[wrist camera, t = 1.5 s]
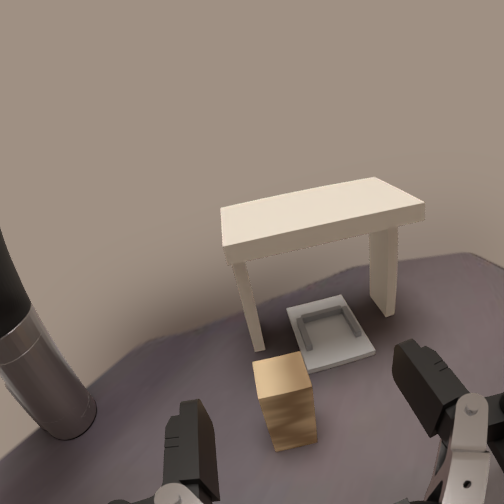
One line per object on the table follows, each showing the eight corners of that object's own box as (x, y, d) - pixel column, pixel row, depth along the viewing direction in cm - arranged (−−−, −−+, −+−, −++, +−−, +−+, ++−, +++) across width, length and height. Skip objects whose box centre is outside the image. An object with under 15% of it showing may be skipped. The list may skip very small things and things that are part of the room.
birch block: (275, 452, 28) (258, 399, 23) (269, 420, 32) (252, 361, 27) (317, 442, 28) (312, 386, 23) (308, 411, 32) (300, 350, 27)
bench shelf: (260, 385, 37) (222, 247, 28) (249, 320, 49) (220, 205, 41) (414, 340, 37) (426, 203, 29) (374, 289, 49) (370, 175, 41)
